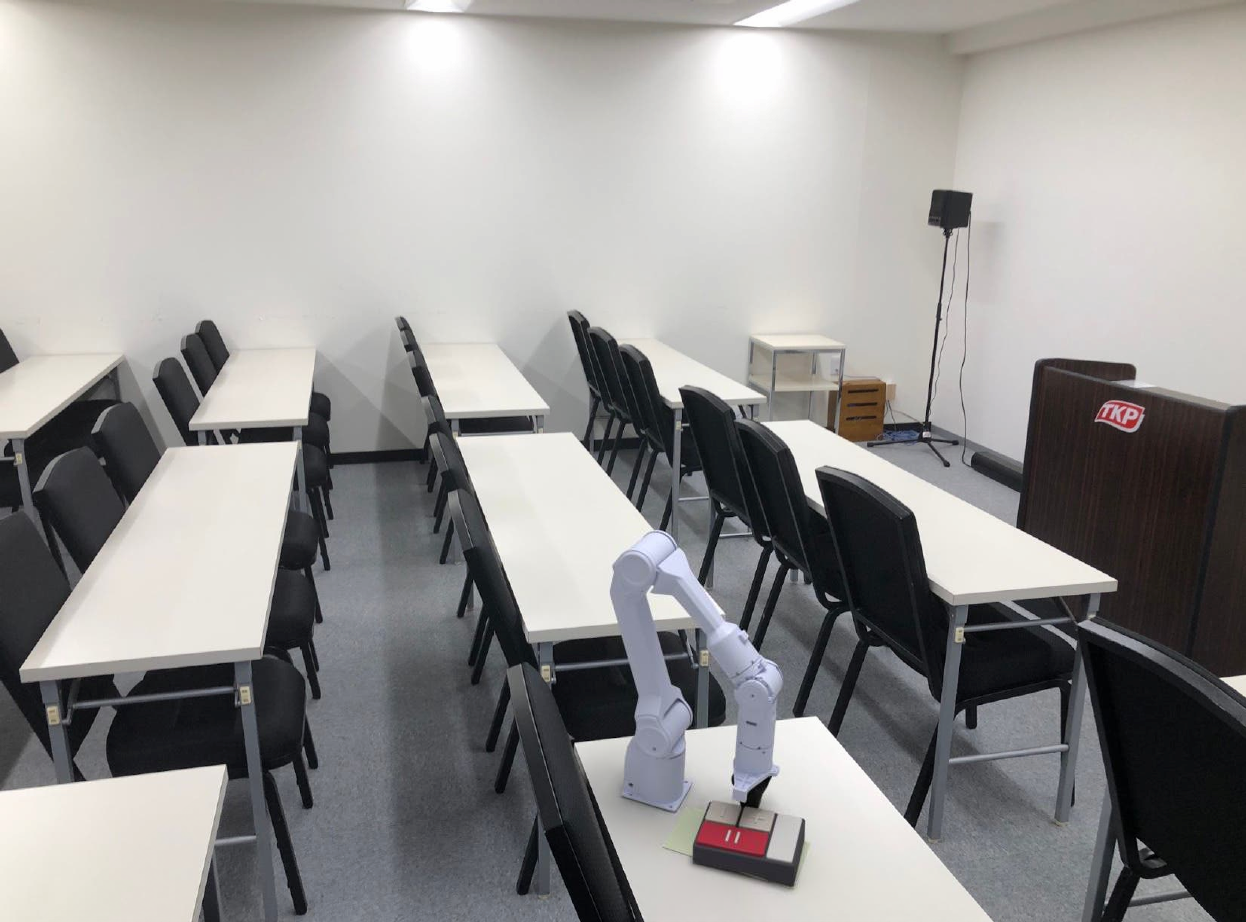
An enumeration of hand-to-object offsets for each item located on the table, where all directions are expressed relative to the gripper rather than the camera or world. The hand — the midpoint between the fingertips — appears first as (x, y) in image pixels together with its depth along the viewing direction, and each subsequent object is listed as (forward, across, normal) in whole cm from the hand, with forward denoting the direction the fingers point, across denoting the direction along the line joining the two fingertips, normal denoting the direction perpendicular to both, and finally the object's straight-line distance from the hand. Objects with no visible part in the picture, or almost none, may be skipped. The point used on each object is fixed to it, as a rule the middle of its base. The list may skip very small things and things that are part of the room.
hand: (749, 813), depth 148 cm
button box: (+2, -7, -2) cm, 7 cm away
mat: (+1, -6, 0) cm, 6 cm away
